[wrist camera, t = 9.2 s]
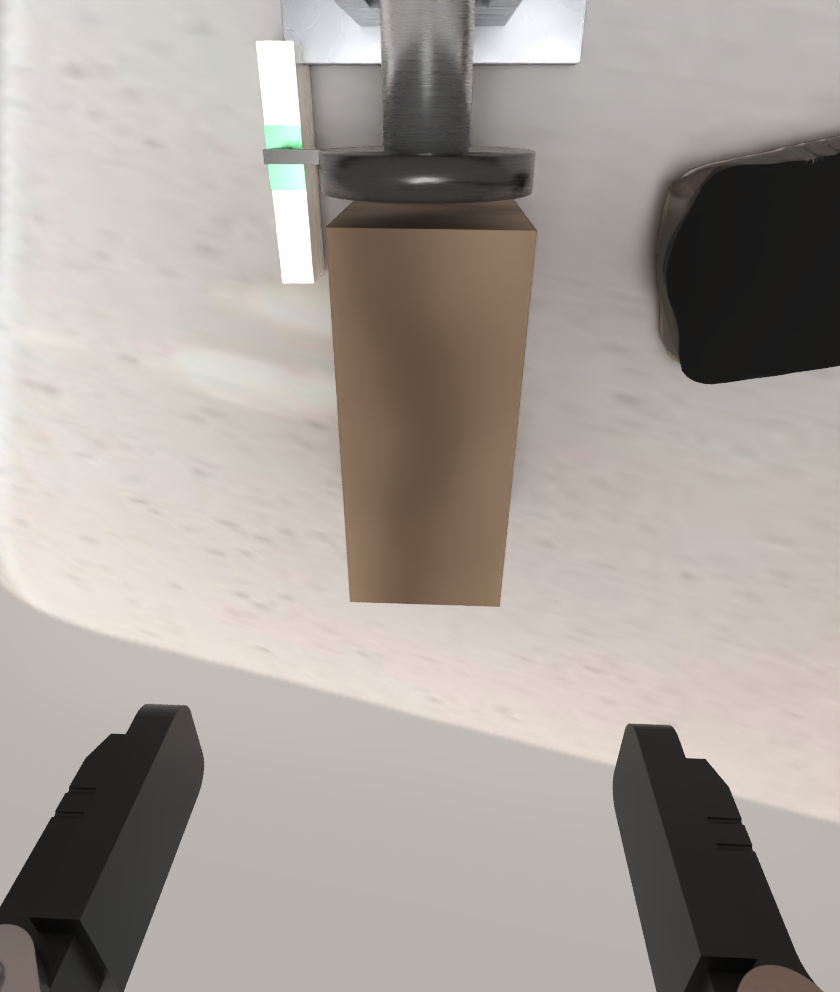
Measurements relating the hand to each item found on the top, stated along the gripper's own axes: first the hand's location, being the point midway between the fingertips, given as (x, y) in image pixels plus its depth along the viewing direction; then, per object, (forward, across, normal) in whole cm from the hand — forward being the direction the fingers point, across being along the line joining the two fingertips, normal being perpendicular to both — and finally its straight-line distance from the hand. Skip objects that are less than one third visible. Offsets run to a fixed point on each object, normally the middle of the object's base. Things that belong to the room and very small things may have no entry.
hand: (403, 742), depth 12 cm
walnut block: (+20, 0, 0) cm, 20 cm away
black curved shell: (+20, -17, -6) cm, 27 cm away
